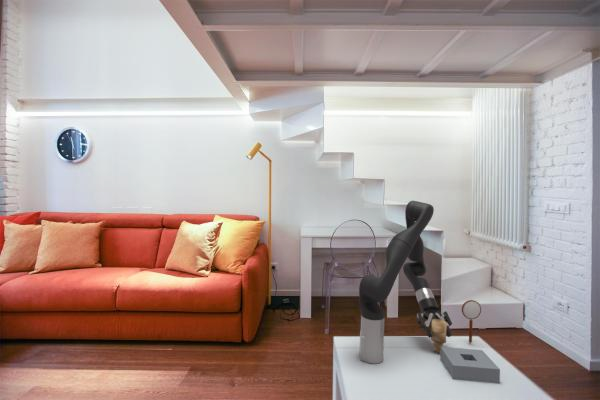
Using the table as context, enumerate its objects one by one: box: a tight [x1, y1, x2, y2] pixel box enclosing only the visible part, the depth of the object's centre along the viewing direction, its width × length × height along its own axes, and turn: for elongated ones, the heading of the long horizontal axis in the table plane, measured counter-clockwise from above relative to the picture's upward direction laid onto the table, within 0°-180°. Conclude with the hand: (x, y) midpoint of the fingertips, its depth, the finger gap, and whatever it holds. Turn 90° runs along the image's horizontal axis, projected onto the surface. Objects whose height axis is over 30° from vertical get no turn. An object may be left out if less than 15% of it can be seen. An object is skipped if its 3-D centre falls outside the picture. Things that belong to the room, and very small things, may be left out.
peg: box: [430, 319, 447, 354], centre depth 133 cm, size 6×6×13 cm
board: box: [439, 346, 501, 384], centre depth 120 cm, size 16×14×5 cm
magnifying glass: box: [461, 299, 482, 345], centre depth 141 cm, size 9×2×20 cm, turn 91°
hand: (440, 336), depth 132 cm, fingers open, 8 cm apart
